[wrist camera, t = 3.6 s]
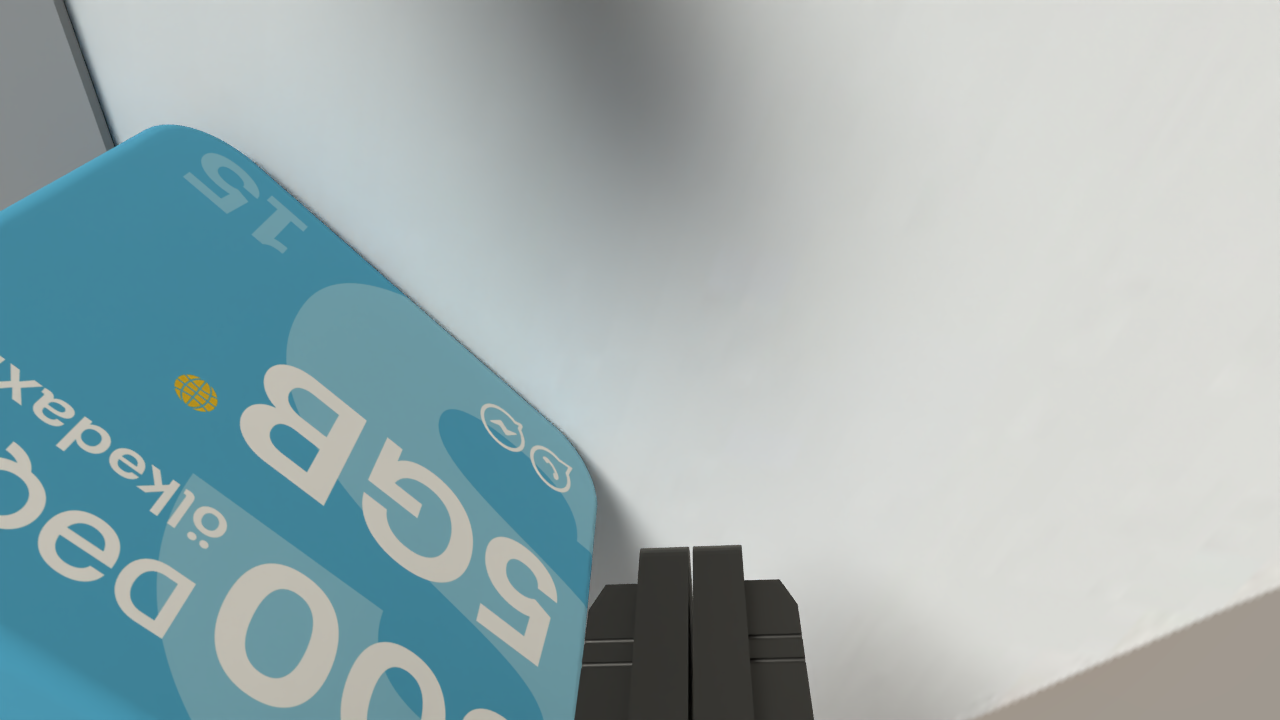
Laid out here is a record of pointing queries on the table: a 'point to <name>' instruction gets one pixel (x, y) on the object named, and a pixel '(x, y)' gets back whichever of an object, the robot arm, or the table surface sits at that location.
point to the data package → (262, 470)
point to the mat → (43, 100)
